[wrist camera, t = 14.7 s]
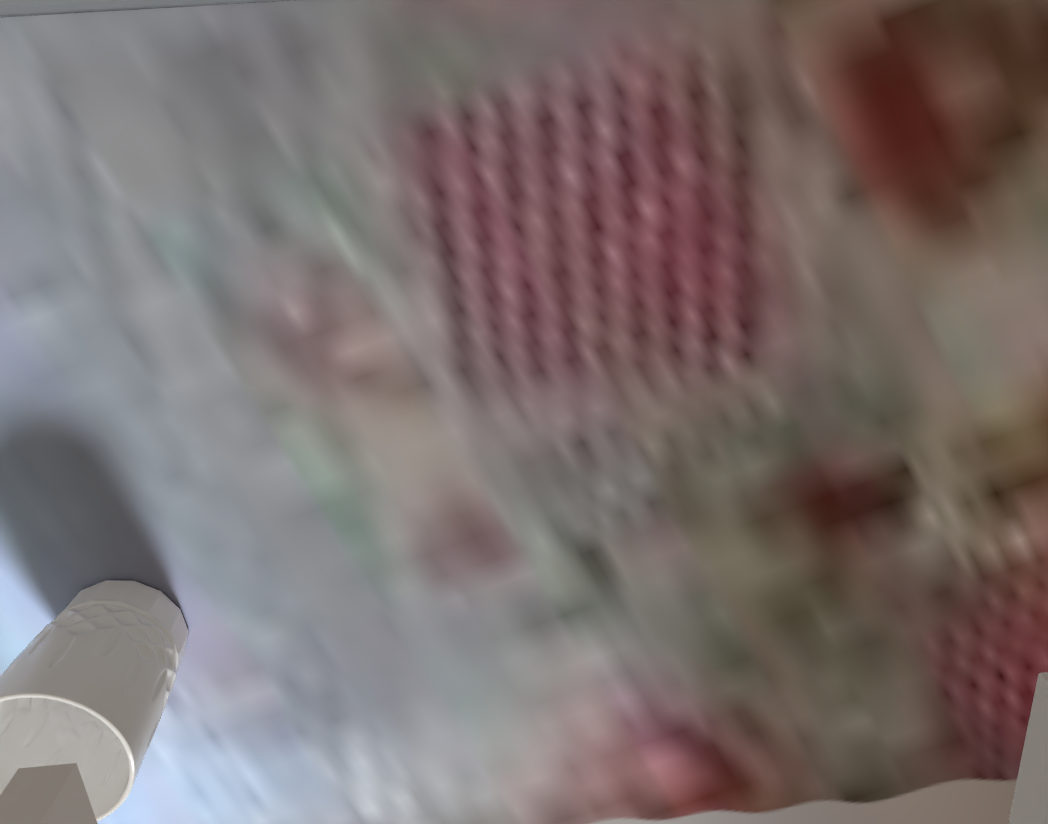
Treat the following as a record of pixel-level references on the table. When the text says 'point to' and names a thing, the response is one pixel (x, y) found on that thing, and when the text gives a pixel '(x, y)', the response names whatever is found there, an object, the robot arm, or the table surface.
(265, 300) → the table surface
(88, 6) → the tray
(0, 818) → the robot arm
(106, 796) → the white cup
